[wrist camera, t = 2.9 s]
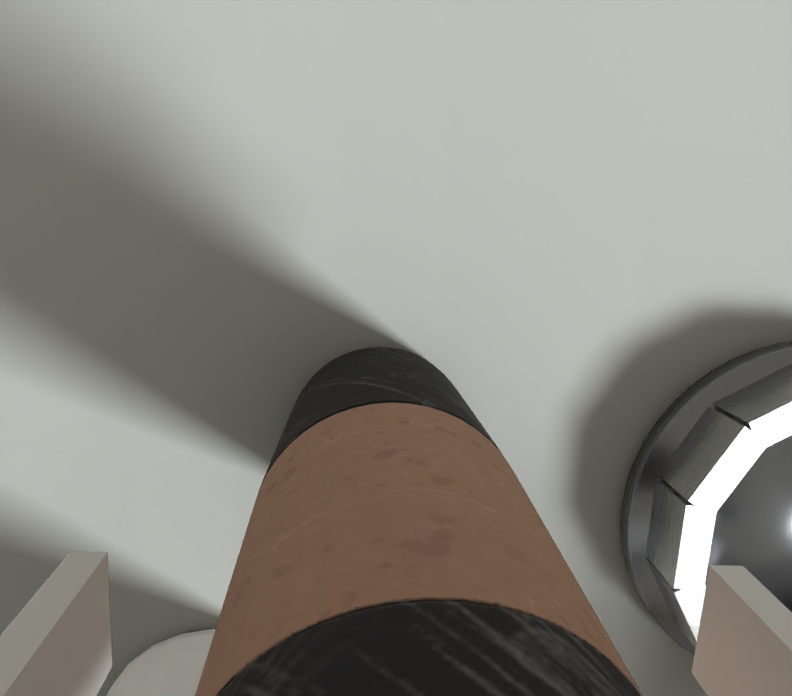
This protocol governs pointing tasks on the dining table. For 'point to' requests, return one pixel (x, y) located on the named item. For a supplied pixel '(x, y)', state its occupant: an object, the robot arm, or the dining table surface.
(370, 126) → the dining table surface
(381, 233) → the dining table surface
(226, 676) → the travel mug
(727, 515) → the ring
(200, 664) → the mug
